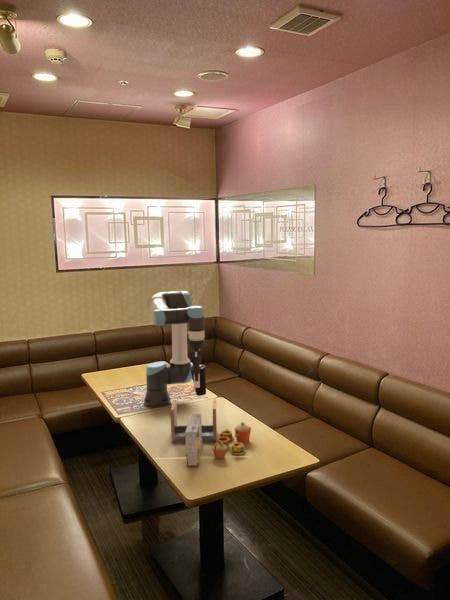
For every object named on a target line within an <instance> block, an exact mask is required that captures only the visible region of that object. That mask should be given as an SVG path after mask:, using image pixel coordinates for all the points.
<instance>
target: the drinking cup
mask: <svg viewBox="0 0 450 600" xmlns="http://www.w3.org/2000/svg"><path fill="white" fill-rule="evenodd" d="M190 370H191V374H192V372H194V364H193V366H191V367H190ZM199 373H200V388H194V390H195V394H196V396H205V395H207V383H206V378H207V377H206V365H205V364H203V363H202V364H199ZM192 382H193V384H194V374H192Z"/></svg>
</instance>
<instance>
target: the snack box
mask: <svg viewBox="0 0 450 600" xmlns="http://www.w3.org/2000/svg"><path fill="white" fill-rule="evenodd" d="M202 425H203V424H202V414H201V413H191V414H190V415H189V418H188V421H187V428H186V431H185V438H186V443H185V453H186V454H185V455H186V466H187V467H197V466H199V465H200V459H201V454H202V449H203V446H204V445H203V443H204V442H202Z"/></svg>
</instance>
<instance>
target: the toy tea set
mask: <svg viewBox="0 0 450 600" xmlns="http://www.w3.org/2000/svg"><path fill="white" fill-rule="evenodd" d="M251 430H252V426H249V425H247V424H245V422H243V421H241V423H239V424H238V425H237V426H235V427H234V435H233V431H232V430H229V429H225V430H222V431H221V432H219V433H218V437H217V442H215V444H214V445H213V446H212V452H213V456H214V458H215V459H223V458H225V456H226V451H227V449H228V448H229V445H230V444H229V443H230V442H231V441H233V440H235V439H234V438H236V442H233V443H231V445H230V453H231V454H232V455H235V456H237V455H244V454H245V453H246V449H245V448H246V447H245V445H246V444H248V443H250V437H251V432H252V431H251Z"/></svg>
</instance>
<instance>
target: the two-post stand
mask: <svg viewBox="0 0 450 600" xmlns="http://www.w3.org/2000/svg"><path fill="white" fill-rule="evenodd" d="M177 404H178V403H177V400H176V399H175V400H173V401H172V403H171V408H170V430H171V431H170V432H171V433H170V434H171V438H170V439H171V444H178V443H179V444H181V443H183V444H184V443H185V444H186V438H185V431H186V428H187V425H188V424H187V425H178V411H177V410H178V409H177V407H178V406H177ZM217 421H218V420H217V398H216V399H212V424H202V443H210V442H211V443H218V442H217V438H218V436H217V435H218V430H217V429H218V425H217V424H218V423H217Z"/></svg>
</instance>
